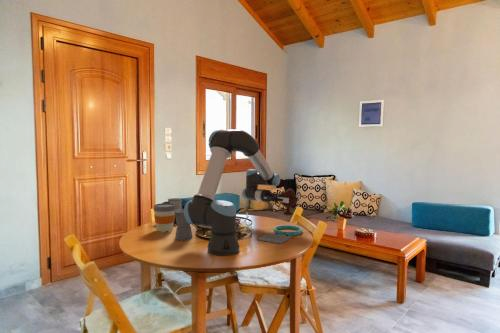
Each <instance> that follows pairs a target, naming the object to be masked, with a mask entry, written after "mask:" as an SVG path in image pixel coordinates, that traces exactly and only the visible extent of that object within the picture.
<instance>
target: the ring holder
mask: <svg viewBox="0 0 500 333" xmlns="http://www.w3.org/2000/svg"><path fill="white" fill-rule="evenodd" d="M278 229H279V230H278ZM284 230H293V231H284ZM276 233H277V234H279V235H285V236H286V235H288V236H292V237H293V235H294V236H298V235H301V234H302V233H303V229H302V227H301V226H297V225H292V224H291V225H290V224H281V225H276V226H274V227H273V234H276Z"/></svg>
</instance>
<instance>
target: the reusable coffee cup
mask: <svg viewBox="0 0 500 333" xmlns="http://www.w3.org/2000/svg"><path fill="white" fill-rule="evenodd" d="M175 210H176V207H175V204H172V203H163V202H162V203H157V204H154V205H153V212H154V216H153V217H154V224H155V226H156V231H157V232H158V231H164V232H163V233H167V232H166V231H170V232H172V231H174V224H173V223H174V221H175V214H174V213H175ZM171 230H172V231H171Z"/></svg>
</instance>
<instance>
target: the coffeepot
mask: <svg viewBox="0 0 500 333" xmlns="http://www.w3.org/2000/svg"><path fill="white" fill-rule="evenodd" d="M185 205H186V204H184V205H183V204H182V205H181V209H179V210H176V211H175V213H174V214H175V216H176V222H177V224H176V231H175V238H174V239H175V240H176V239H177V240H176V241H179V240H186V241H191V240H192V239H193V231H192V226H191V224H189V223H188V222H187V221H186V219H185V216H184V207H185Z"/></svg>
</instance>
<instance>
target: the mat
mask: <svg viewBox="0 0 500 333" xmlns="http://www.w3.org/2000/svg"><path fill="white" fill-rule="evenodd" d="M292 238H293V236H286V235H279V234H276V233H271V232H267V233H266V234H264V235H263V236H260V237H258V238H256V240H257V241H261V242H267V243H271V244H279V245H282V244H284V243H285V242H288V241H289V240H290V239H292Z"/></svg>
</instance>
